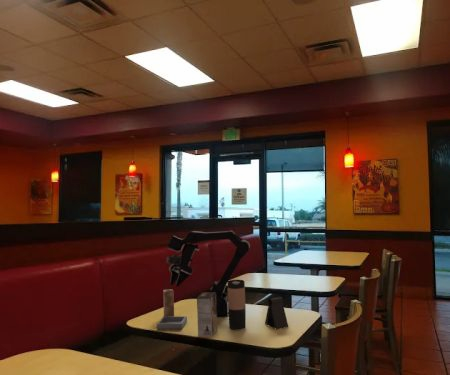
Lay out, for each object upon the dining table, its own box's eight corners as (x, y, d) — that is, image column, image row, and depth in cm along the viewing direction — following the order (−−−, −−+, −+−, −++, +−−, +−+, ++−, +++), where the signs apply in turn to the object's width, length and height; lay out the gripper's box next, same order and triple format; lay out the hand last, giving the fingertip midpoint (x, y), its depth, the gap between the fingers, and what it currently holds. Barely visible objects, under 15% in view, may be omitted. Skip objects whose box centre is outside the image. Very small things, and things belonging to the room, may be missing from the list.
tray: (186, 321, 176) (186, 316, 176) (181, 329, 165) (181, 323, 165) (163, 321, 177) (163, 316, 177) (157, 329, 166) (157, 323, 166)
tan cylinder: (172, 316, 186) (172, 289, 186) (174, 318, 181) (173, 290, 182) (163, 317, 184) (163, 289, 185) (165, 319, 180) (164, 291, 181)
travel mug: (237, 323, 171) (235, 278, 172) (249, 327, 165) (248, 280, 166) (225, 327, 166) (223, 281, 166) (237, 331, 160) (236, 283, 161)
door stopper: (288, 326, 164) (287, 299, 165) (277, 329, 161) (276, 301, 162) (275, 321, 172) (274, 294, 173) (264, 324, 169) (263, 296, 170)
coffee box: (203, 329, 165) (202, 291, 166) (217, 329, 164) (216, 292, 164) (197, 336, 156) (196, 297, 157) (212, 337, 155) (211, 297, 155)
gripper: (166, 249, 192) (153, 278, 187) (178, 247, 176) (164, 279, 170) (185, 258, 196) (173, 287, 190) (198, 257, 179) (185, 289, 174)
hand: (173, 285), depth 181 cm, fingers open, 9 cm apart
